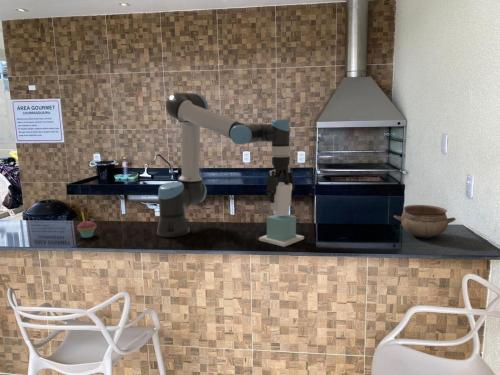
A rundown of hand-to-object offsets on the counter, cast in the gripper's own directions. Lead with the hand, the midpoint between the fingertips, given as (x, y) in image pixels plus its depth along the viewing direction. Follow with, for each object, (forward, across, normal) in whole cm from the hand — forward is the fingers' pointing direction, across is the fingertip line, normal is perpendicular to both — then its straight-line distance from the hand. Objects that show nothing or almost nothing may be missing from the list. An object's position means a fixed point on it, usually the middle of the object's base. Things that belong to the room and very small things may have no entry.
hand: (281, 207), depth 174 cm
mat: (+14, 0, 0) cm, 14 cm away
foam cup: (+3, 0, 0) cm, 3 cm away
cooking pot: (+14, -43, +45) cm, 64 cm away
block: (+13, 0, 0) cm, 13 cm away
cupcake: (+15, +53, -73) cm, 91 cm away
